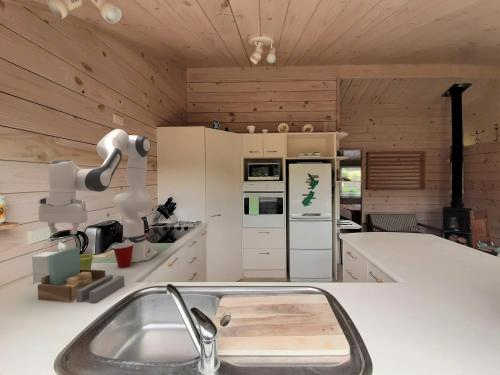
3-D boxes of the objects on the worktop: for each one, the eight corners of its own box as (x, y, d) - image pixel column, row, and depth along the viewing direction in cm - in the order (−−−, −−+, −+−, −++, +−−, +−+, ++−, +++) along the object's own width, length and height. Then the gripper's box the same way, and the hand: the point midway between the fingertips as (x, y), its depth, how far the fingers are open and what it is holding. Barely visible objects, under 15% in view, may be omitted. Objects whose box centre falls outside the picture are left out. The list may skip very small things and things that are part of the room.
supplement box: (61, 278, 123) (60, 251, 123) (47, 284, 116) (46, 256, 116) (46, 277, 124) (45, 251, 124) (32, 283, 117) (31, 256, 116)
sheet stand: (108, 287, 112) (107, 274, 111) (124, 288, 110) (124, 276, 110) (76, 305, 96) (76, 290, 96) (95, 307, 94) (94, 292, 94)
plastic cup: (113, 264, 142) (112, 243, 142) (134, 261, 146) (134, 240, 146) (111, 270, 132) (111, 247, 132) (134, 267, 137) (134, 245, 136)
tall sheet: (76, 283, 112) (75, 247, 112) (80, 284, 112) (79, 247, 111) (50, 296, 100) (48, 255, 100) (54, 296, 100) (52, 255, 100)
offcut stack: (85, 284, 111) (84, 270, 111) (95, 285, 110) (94, 271, 110) (59, 297, 100) (59, 281, 99) (70, 298, 99) (70, 282, 98)
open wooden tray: (78, 284, 116) (77, 263, 115) (105, 286, 113) (105, 264, 113) (38, 303, 98) (37, 278, 98) (69, 306, 95) (68, 280, 95)
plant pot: (98, 271, 132) (98, 254, 132) (85, 278, 123) (84, 260, 122) (81, 270, 133) (81, 254, 133) (66, 277, 124) (66, 259, 123)
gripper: (91, 199, 106) (92, 232, 106) (49, 199, 110) (50, 231, 110) (78, 200, 100) (79, 235, 100) (34, 200, 104) (35, 234, 104)
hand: (63, 233), depth 105 cm, fingers open, 8 cm apart
